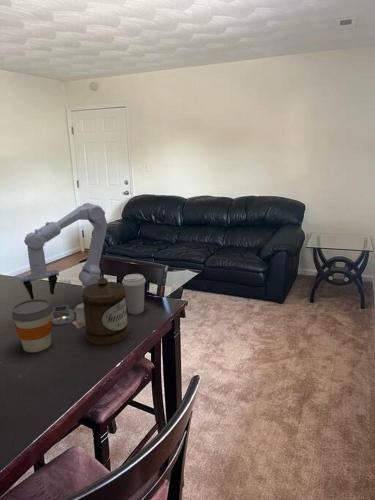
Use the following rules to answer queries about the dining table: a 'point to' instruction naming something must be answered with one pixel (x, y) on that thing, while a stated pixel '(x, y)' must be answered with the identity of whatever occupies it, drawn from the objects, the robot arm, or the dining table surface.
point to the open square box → (60, 311)
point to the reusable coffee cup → (33, 324)
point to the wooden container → (105, 312)
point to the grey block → (80, 314)
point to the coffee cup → (134, 292)
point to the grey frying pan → (65, 320)
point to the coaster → (78, 325)
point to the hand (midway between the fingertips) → (42, 296)
